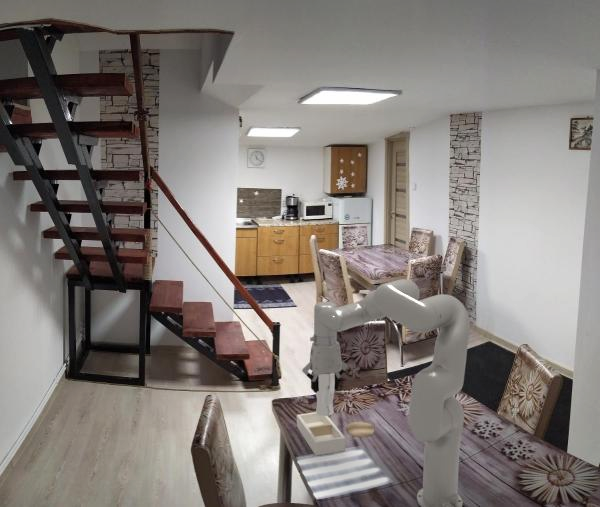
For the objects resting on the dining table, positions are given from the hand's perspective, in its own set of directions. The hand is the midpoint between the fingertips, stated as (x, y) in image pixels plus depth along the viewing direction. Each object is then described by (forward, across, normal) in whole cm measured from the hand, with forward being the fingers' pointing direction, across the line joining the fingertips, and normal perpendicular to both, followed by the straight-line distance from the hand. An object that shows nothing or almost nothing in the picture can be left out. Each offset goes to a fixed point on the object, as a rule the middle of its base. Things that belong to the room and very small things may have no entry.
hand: (325, 389), depth 182 cm
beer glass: (+8, 0, 0) cm, 8 cm away
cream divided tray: (+20, 0, +5) cm, 21 cm away
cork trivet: (+20, +16, +6) cm, 27 cm away
